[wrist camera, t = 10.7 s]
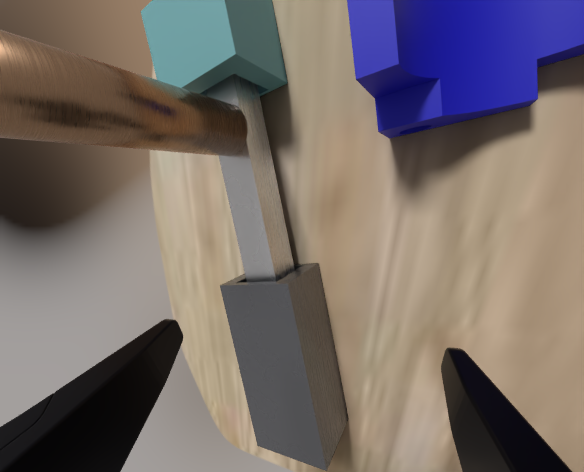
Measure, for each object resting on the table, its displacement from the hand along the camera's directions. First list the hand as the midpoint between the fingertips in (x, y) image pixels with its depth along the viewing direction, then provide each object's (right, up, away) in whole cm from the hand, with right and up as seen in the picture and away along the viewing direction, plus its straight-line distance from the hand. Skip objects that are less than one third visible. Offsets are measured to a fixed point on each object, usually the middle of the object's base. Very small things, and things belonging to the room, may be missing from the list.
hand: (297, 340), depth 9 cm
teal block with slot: (-4, +15, +10) cm, 19 cm away
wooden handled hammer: (-2, +7, +10) cm, 12 cm away
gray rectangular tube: (+1, -5, +12) cm, 13 cm away
